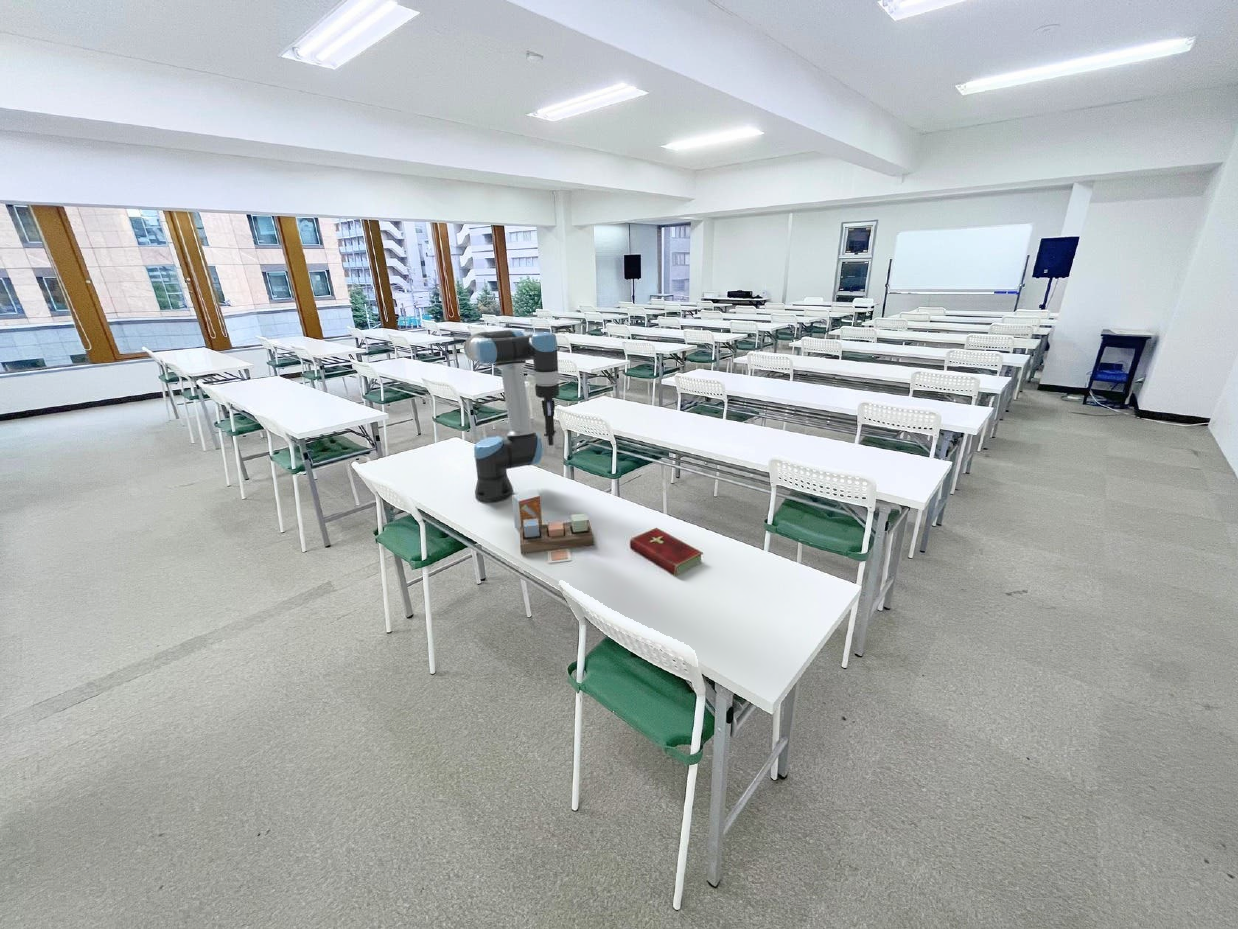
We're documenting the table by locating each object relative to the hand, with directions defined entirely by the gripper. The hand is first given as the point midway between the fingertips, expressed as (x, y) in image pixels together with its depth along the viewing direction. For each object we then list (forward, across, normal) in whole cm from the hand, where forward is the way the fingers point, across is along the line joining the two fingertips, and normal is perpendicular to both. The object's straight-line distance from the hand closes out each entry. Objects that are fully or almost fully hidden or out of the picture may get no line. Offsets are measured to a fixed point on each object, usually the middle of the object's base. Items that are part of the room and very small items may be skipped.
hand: (551, 452), depth 166 cm
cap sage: (+25, +9, +8) cm, 28 cm away
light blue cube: (+25, +10, -8) cm, 28 cm away
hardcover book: (+29, +26, +33) cm, 51 cm away
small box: (+29, -1, -9) cm, 31 cm away
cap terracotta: (+28, +9, 0) cm, 29 cm away
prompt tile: (+28, +19, 0) cm, 34 cm away
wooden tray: (+28, +9, 0) cm, 30 cm away
